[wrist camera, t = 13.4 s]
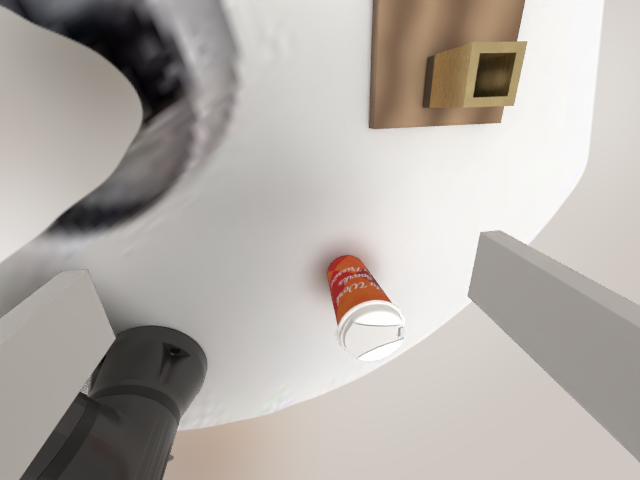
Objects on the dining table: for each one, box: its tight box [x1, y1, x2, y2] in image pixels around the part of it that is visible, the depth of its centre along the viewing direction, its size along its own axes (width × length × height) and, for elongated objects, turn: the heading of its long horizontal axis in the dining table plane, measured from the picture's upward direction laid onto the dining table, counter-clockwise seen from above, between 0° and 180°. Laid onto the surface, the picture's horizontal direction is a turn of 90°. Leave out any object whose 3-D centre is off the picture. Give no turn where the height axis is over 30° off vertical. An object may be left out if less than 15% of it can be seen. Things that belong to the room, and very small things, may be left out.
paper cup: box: [328, 255, 405, 361], centre depth 38 cm, size 8×8×14 cm
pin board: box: [369, 0, 525, 129], centre depth 30 cm, size 16×18×7 cm
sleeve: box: [423, 41, 527, 108], centre depth 30 cm, size 5×5×8 cm
